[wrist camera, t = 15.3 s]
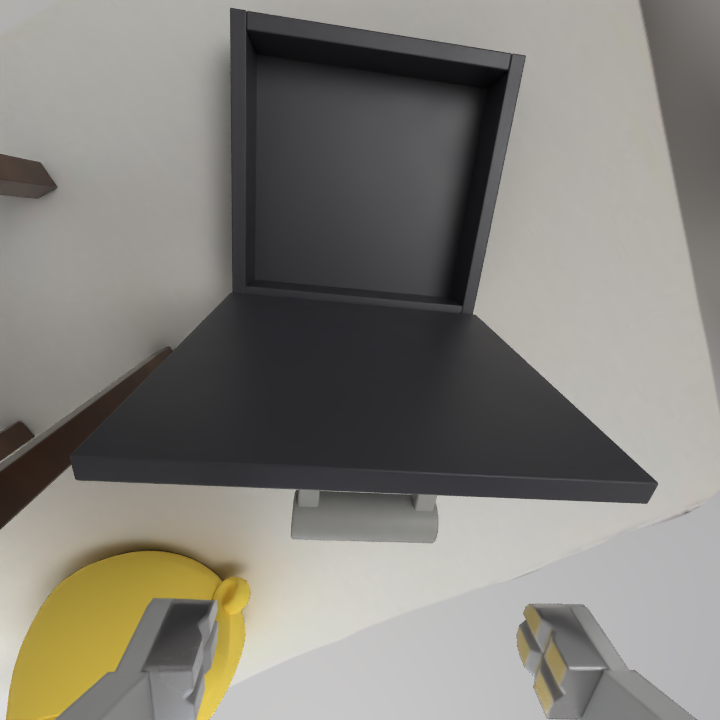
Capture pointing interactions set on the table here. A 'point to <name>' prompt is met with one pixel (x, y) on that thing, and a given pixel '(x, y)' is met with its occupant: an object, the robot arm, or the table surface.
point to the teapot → (117, 629)
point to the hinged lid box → (364, 162)
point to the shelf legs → (53, 447)
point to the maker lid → (356, 419)
